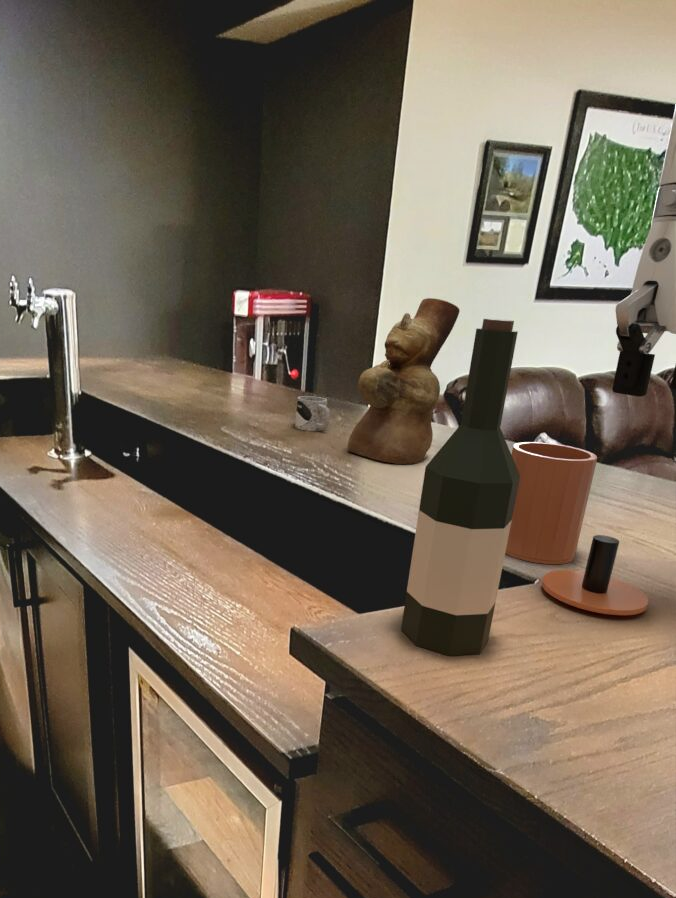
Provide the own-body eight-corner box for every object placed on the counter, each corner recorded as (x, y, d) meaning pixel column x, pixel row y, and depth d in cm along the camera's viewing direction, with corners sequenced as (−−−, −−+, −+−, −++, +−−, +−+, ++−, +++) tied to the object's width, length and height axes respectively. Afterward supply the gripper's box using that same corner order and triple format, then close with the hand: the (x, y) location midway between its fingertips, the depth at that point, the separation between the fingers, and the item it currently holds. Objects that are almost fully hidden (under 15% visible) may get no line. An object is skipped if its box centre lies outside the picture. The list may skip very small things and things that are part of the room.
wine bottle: (437, 609, 76) (487, 316, 67) (506, 643, 70) (571, 324, 60) (383, 627, 72) (427, 315, 62) (451, 665, 65) (512, 323, 56)
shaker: (554, 539, 100) (575, 444, 96) (587, 566, 91) (612, 463, 87) (484, 534, 100) (502, 439, 96) (510, 562, 91) (530, 458, 86)
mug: (289, 425, 165) (292, 396, 163) (313, 424, 168) (316, 395, 166) (314, 434, 157) (317, 404, 155) (339, 433, 160) (342, 403, 158)
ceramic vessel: (331, 449, 144) (348, 293, 135) (402, 440, 157) (422, 296, 147) (392, 468, 132) (415, 298, 123) (464, 457, 145) (490, 302, 136)
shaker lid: (615, 581, 87) (629, 525, 84) (666, 623, 76) (684, 560, 74) (526, 576, 87) (537, 520, 84) (564, 617, 76) (579, 554, 74)
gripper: (686, 197, 60) (641, 402, 65) (793, 213, 68) (745, 395, 73) (604, 203, 66) (569, 390, 72) (710, 217, 74) (672, 384, 80)
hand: (658, 392), depth 72 cm, fingers open, 9 cm apart
